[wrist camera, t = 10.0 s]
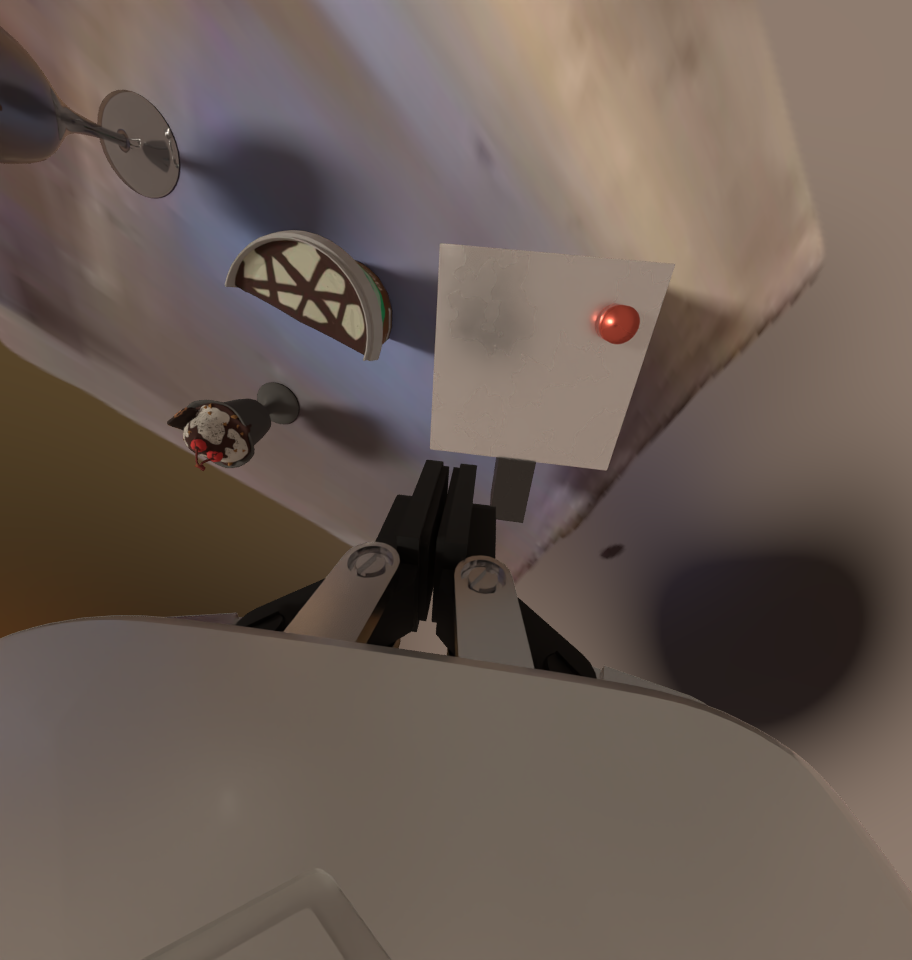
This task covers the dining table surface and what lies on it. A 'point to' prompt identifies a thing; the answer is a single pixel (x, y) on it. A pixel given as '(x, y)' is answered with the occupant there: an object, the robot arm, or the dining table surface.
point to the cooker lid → (538, 358)
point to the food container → (317, 287)
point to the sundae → (234, 424)
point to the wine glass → (82, 125)
